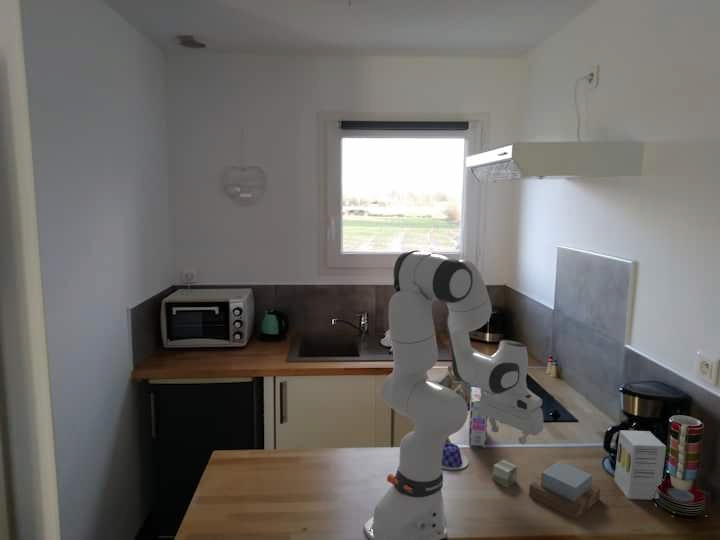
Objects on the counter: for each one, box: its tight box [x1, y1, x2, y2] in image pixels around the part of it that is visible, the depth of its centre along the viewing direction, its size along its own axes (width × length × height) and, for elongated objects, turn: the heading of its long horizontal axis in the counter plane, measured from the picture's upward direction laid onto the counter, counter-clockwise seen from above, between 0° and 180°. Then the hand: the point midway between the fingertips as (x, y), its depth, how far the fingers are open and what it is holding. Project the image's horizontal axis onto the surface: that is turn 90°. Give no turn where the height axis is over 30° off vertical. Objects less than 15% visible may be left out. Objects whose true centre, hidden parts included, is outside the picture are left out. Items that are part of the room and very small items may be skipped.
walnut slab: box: [528, 477, 601, 520], centre depth 149 cm, size 14×14×4 cm
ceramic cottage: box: [437, 364, 471, 404], centre depth 217 cm, size 16×16×15 cm
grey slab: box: [540, 460, 593, 501], centre depth 148 cm, size 10×10×4 cm
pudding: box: [442, 442, 469, 471], centre depth 168 cm, size 12×12×5 cm
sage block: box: [492, 459, 518, 488], centre depth 157 cm, size 5×5×5 cm
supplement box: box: [613, 429, 667, 501], centre depth 152 cm, size 10×9×17 cm
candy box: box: [468, 386, 489, 448], centre depth 183 cm, size 14×6×16 cm, turn 168°
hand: (508, 437), depth 155 cm, fingers open, 8 cm apart
